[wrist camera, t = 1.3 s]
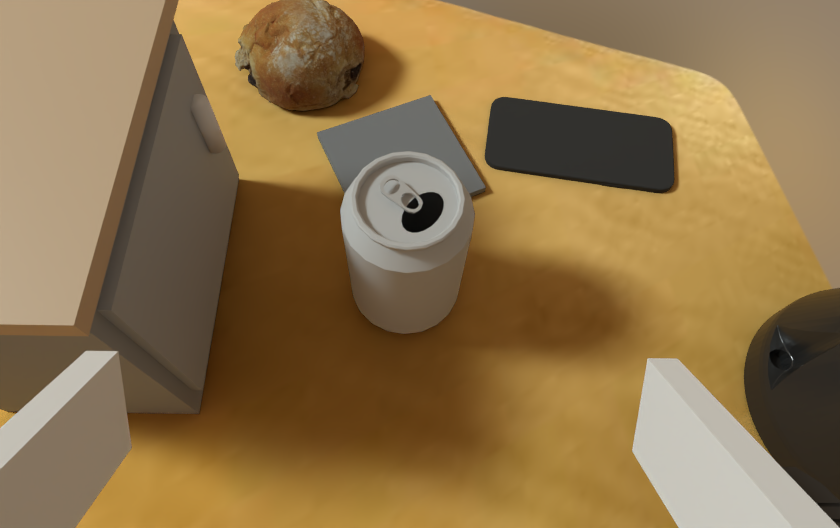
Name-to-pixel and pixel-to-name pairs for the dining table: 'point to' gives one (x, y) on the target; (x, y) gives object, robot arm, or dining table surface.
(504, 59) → the dining table surface
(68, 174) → the cabinet
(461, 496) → the dining table surface
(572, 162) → the phone
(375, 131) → the mat
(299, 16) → the bread roll
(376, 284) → the can
